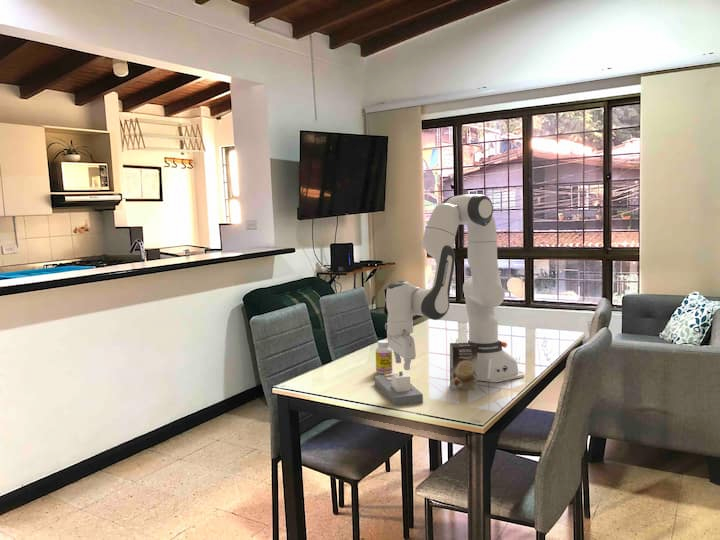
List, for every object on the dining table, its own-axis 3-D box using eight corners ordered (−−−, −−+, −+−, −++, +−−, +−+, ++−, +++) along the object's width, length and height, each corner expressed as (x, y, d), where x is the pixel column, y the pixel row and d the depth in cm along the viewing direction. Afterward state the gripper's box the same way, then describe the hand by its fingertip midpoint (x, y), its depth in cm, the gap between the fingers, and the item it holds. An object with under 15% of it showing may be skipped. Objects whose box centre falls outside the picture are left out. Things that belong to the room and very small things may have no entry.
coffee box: (452, 390, 207) (452, 347, 206) (449, 385, 214) (448, 343, 212) (478, 389, 208) (477, 346, 206) (473, 384, 214) (473, 342, 212)
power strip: (399, 381, 220) (399, 372, 220) (422, 402, 195) (422, 392, 195) (374, 383, 218) (374, 374, 218) (394, 405, 193) (394, 395, 193)
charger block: (406, 394, 205) (405, 369, 204) (410, 398, 200) (410, 373, 199) (392, 395, 204) (392, 370, 203) (397, 400, 199) (396, 374, 198)
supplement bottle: (378, 375, 229) (377, 343, 228) (374, 370, 236) (373, 340, 234) (394, 373, 231) (393, 342, 230) (389, 369, 238) (388, 338, 236)
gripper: (419, 332, 190) (421, 372, 192) (399, 321, 210) (402, 358, 211) (401, 334, 189) (403, 375, 190) (383, 323, 208) (385, 360, 210)
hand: (402, 366), depth 201 cm, fingers open, 8 cm apart
